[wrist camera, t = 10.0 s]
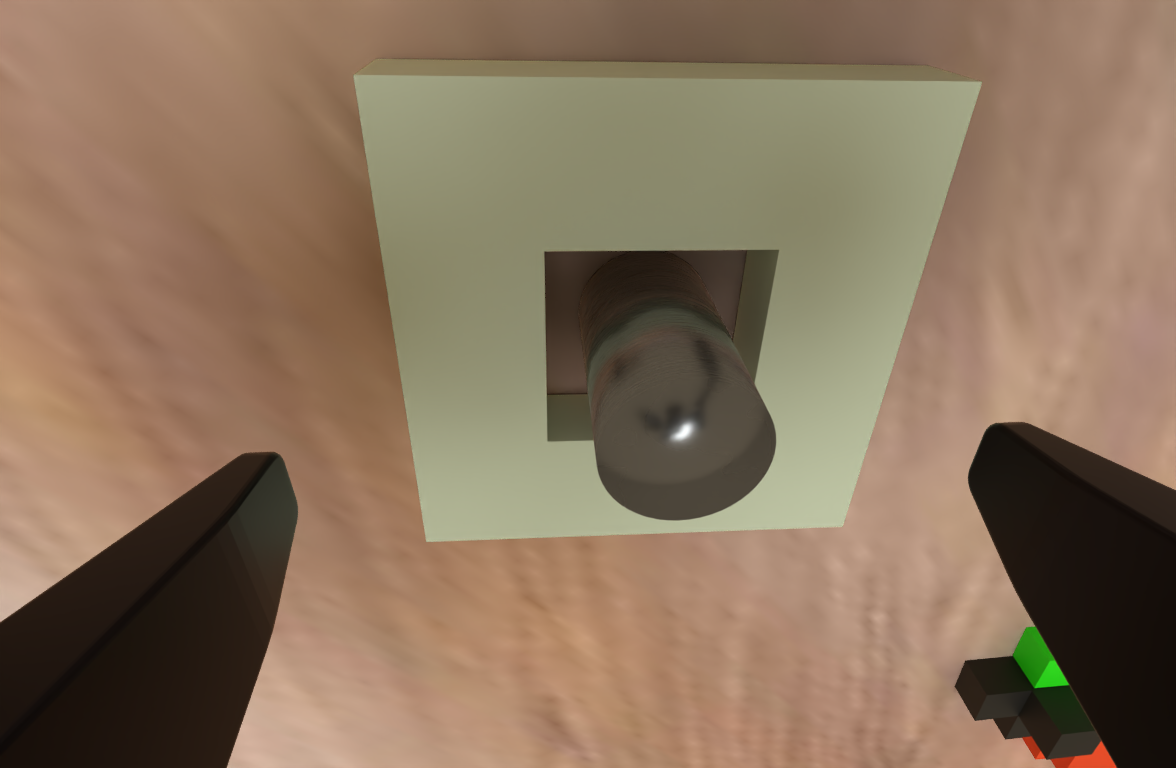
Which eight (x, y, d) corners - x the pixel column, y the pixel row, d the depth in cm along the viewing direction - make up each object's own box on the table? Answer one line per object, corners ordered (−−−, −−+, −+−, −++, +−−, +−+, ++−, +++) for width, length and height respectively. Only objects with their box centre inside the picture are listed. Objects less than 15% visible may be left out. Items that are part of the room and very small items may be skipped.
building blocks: (1000, 560, 29) (1067, 647, 25) (1288, 536, 29) (1394, 618, 26) (921, 747, 37) (962, 833, 34) (1146, 726, 38) (1211, 809, 34)
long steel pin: (715, 249, 20) (791, 375, 14) (700, 365, 22) (761, 517, 16) (579, 250, 19) (598, 380, 14) (578, 367, 22) (593, 523, 16)
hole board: (927, 65, 17) (982, 81, 15) (816, 478, 25) (842, 526, 23) (376, 58, 16) (353, 74, 14) (435, 489, 24) (426, 541, 22)
